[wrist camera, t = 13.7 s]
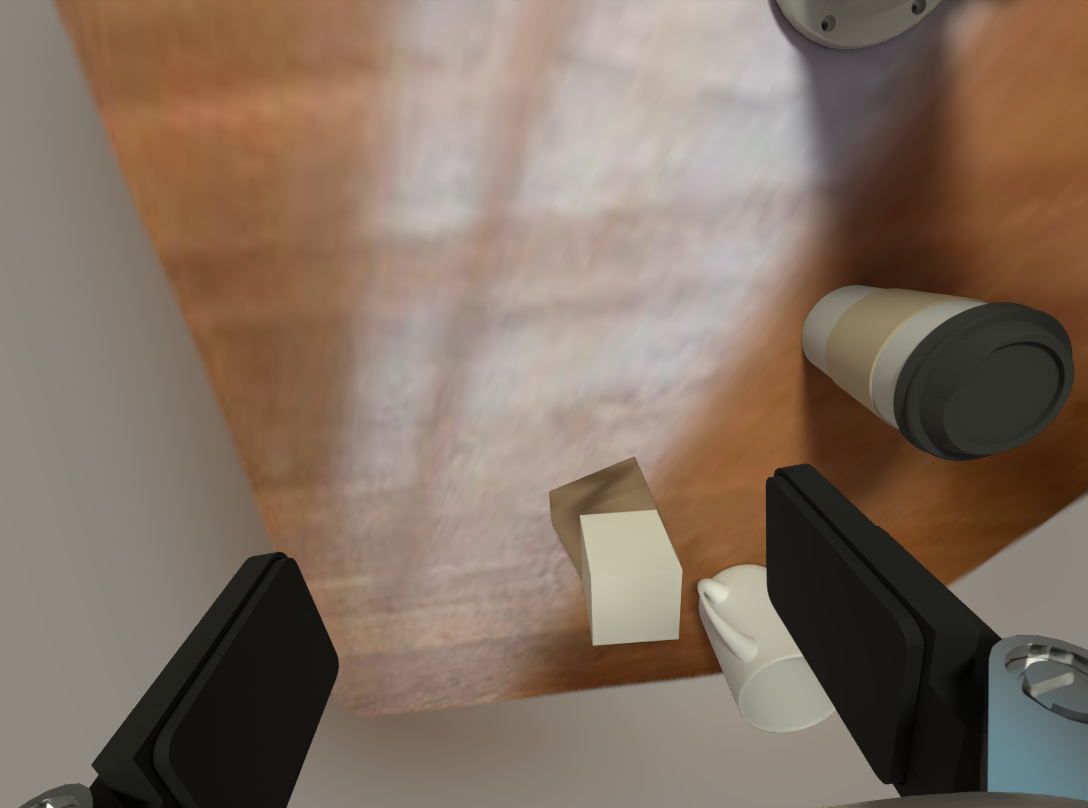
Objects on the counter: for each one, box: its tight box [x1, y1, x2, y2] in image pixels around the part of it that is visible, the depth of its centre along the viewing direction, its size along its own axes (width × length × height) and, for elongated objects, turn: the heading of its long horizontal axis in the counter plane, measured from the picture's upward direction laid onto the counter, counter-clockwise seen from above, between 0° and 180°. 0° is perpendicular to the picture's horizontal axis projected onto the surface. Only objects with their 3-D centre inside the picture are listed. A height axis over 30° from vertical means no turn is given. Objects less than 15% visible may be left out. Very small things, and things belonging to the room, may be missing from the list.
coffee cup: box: [801, 285, 1074, 461], centre depth 33 cm, size 9×9×15 cm
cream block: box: [580, 510, 682, 645], centre depth 38 cm, size 6×6×7 cm
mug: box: [697, 564, 836, 733], centre depth 45 cm, size 9×12×11 cm
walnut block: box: [549, 456, 681, 581], centre depth 44 cm, size 8×8×5 cm
